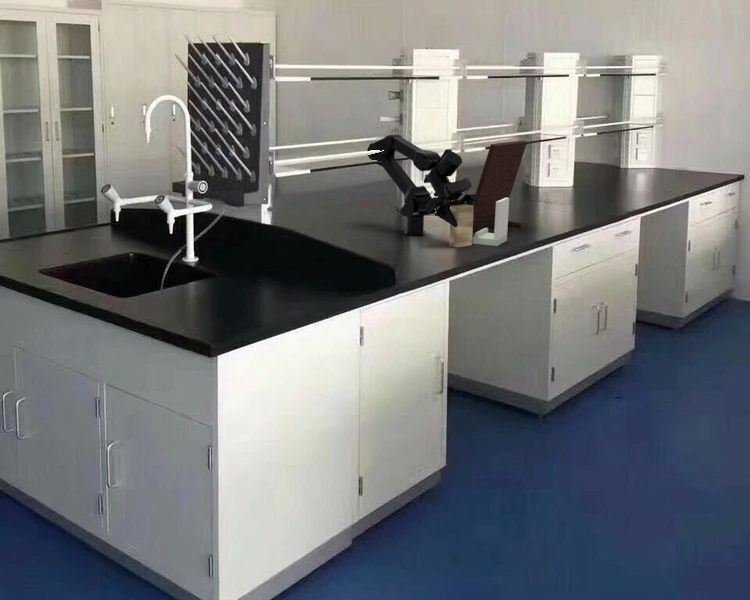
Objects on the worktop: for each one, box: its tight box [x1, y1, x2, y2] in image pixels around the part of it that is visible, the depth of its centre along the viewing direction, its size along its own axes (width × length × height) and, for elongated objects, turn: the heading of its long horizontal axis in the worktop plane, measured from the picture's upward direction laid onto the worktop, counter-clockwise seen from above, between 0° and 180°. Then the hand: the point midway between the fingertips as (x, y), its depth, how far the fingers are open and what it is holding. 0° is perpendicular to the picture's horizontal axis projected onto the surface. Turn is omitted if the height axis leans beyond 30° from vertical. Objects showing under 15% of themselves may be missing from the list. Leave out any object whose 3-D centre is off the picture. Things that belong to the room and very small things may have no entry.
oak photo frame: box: [448, 204, 474, 248], centre depth 283 cm, size 4×6×12 cm, turn 129°
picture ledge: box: [472, 197, 510, 247], centre depth 289 cm, size 8×10×14 cm
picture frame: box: [473, 139, 528, 233], centre depth 309 cm, size 21×11×30 cm, turn 141°
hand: (464, 225), depth 282 cm, fingers open, 7 cm apart
